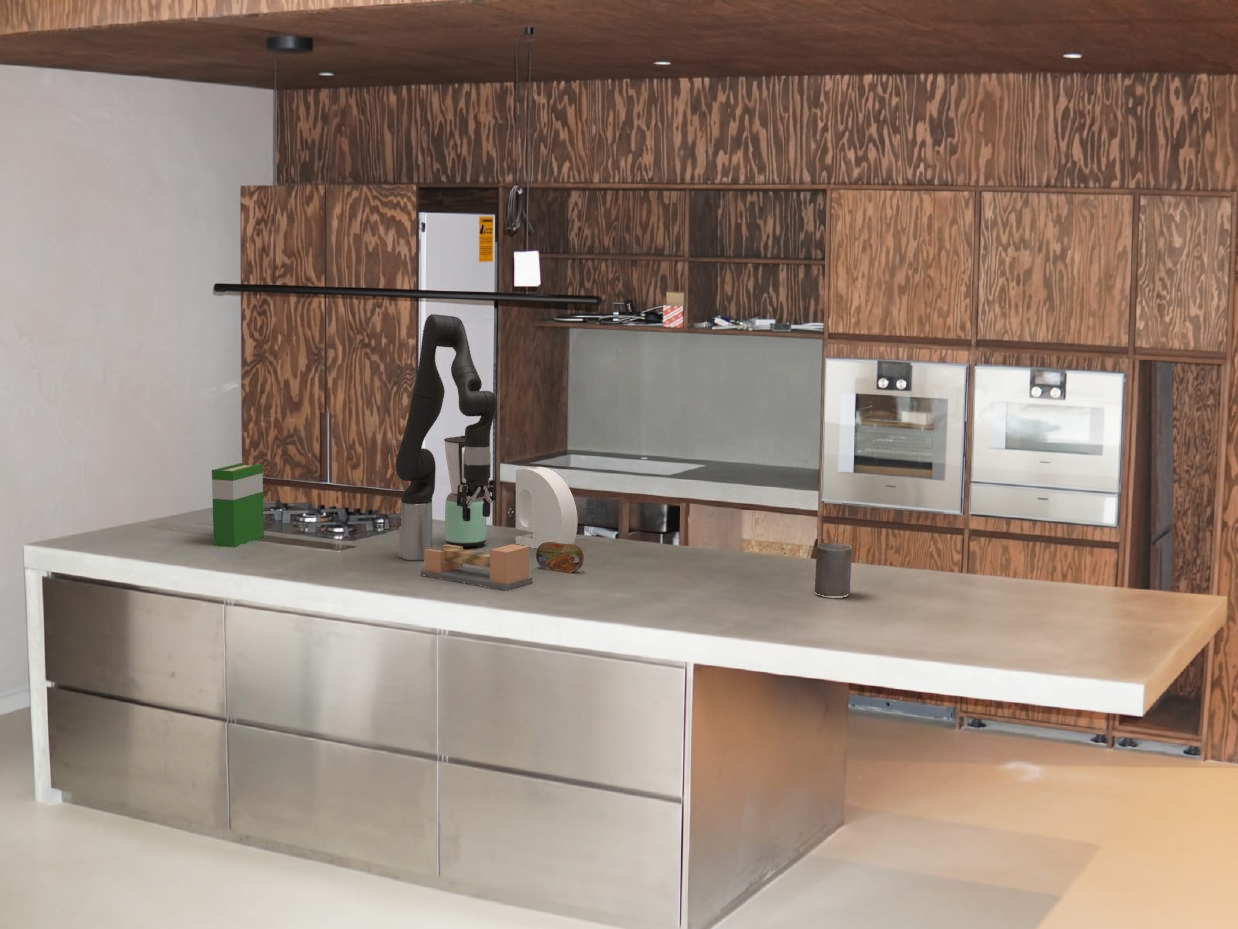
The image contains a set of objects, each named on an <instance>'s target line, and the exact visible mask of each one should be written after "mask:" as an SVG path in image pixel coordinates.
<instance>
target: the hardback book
mask: <svg viewBox="0 0 1238 929" xmlns="http://www.w3.org/2000/svg"><path fill="white" fill-rule="evenodd" d="M263 475H264V474H263V463H256V464H254V465H248V464H247V465H246V464H245V462H240V463H236V464H232V465H228V466H227V465H226V466H223V467H220V468H219V467H218V468H214V469H212V470H211V486H212V488H211V489H212V490H211V493H212V495H211V496H212V522H213V523H212V524H213V527H212V529H213V532H212V533H213V546H214V547H225V548H237V547H240V546H241V545H240V544H243V545H246V544H248V543H247V542H249V541H251V542H254V541H256V540H255V539H257V540H259V539H258V538H260V537H263V536H264V537H265V528H264V526H265V524H264V522H265V520H264V516H265V515H264V484H263V483H264V478H263V477H264V476H263ZM264 537H263V538H264ZM260 539H261V538H260ZM253 540H254V541H253ZM245 543H246V544H245ZM249 543H250V542H249ZM239 545H240V546H239Z"/></svg>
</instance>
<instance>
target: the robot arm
mask: <svg viewBox="0 0 1238 929" xmlns="http://www.w3.org/2000/svg"><path fill="white" fill-rule="evenodd" d="M438 347H440V348H441V347H442V348H452V349H453V350H454V352H455V355H454V358H453V360H452V363H451V367H450V373H451V378H452V379H453V381H454V384H455V386H456V389H457V394H458V409H459V411H460V413H461V414H462V415H464V416H465V417H480V418H479V420H478V421H477V422H475V423H472V424H469V425H466V427H465V428H464V436H465V449H464V478H465V479H466V484H465V485H458V490H457V506H461V507H462V518H463V520H464V521H470V519H471V508H470V506H471V504H472V502H474V501H475V499H476V498H479V497H480V498H481V499H482V501H483V509H482V515H483V516H484V517H486V518H489V517H491V510H492V509H491V508H492V507H491V504H492V503H493V502H495V501H496V500H497V487H496V486H497V484H496V483H497V482H496V480H495V479H491V466H492V464H491V459H492V458H491V446H490V445H491V430H492V425H493V422H494V421H493V420H494V418H495V414H496V412H497V406H498V402H497V401H498V400H497V396H496V394H494V392H492V391H491V390H481V389H482V386H483V385H482V384H483V383H482V379H481V377H480V375H479V373H478V371H477V368H476V366H475V364H474V361H473V359H472V354H471V348H470V344H469V340H468V336H467V331H466V328H465V325H464V322H463V321H462V319H460V318H459V317H457V316H454V315H453V316H452V315H445V314H435V313H434V314H433V313H432V314H430V315H428V316H427V318H426V319H425V321H424V325H423V330H422V337H421V346H420V355H419V362H418V366H417V367H418V368H417V372H416V377H415V382H414V385H413V389H412V395H411V400H410V405H409V410H408V416H407V419H406V424H405V428H404V432H403V435H402V440H401V443H400V444H399V448H398V450H397V451H398V452H397V454H396V459H395V471H396V475H397V477H398V478H399V479H400V480H401V481H405V482H410V484H409V485H408V487H407V488H406V489H404V490H403V491H402V492H401V498H400V499H401V525H400V526H399V527H398V552H399V553H398V554H399V558H401V559H403V560H406V561H424V550H425V549H433V496H434V493H435V489H436V488H435V487H436V472H437V471H436V459H435V456H434V454H433V453H432V452H431V451H430V450H429V449H428V448H424V447H423V443H424V440H425V439H426V437H427V435H428V433H429V431H430V430H431V429H432V427H433V426H434V425H435V422H436V421H437V419H438V418H439V416H440V414H441V412H442V408H443V403H444V398H445V393H446V391H445V386H444V382H443V380H442V378H441V375H440V373H439V370H438V367H437V363H436V351H437V348H438ZM468 495H469V496H470V497H468ZM461 498H462V502H461ZM467 501H468V503H467Z"/></svg>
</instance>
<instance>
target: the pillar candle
mask: <svg viewBox="0 0 1238 929" xmlns="http://www.w3.org/2000/svg"><path fill="white" fill-rule="evenodd" d="M852 551H853V547H852V545H849V544H846V543H840V542H835V541H833V542H822V543H818V544H817V545H816V555H815V560H816V561H815V578H814V580H815V581H814V583H815V584H814V593H815V592H816V593H817V594H820V595H824V596H844V595H847V594H849V593H850V594H851V579H852V578H851V576H852V575H851V574H852V555H853V554H852V553H853V552H852Z"/></svg>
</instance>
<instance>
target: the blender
mask: <svg viewBox="0 0 1238 929" xmlns="http://www.w3.org/2000/svg"><path fill="white" fill-rule="evenodd" d="M443 441H444V449H445V450H444V452H445V457H446V464H447V469H448V476H449V483H450V489H451V492H450V493H448V495H447V496H446V499H445V504H444V505H445V506H444V509H445V510H444V512H445V513H444V534H445V535H444V540H445V543H446V544H448V545H455V546H461V547H463V548H464V547H465V548H467V547H474V548H475V549H481V548H482V546H483V545H484V544H486V542H487V539H488V538H487V517H484V516H483V515H482V509H483V501H482V499H481V498H480V497H479V498H476V499H475V501H474V502H472V504H471V506H470V508H471V519H470V521H464V520H463V518H462V507H461V506H457V490H458V485H465V484H466V479H465V478H464V449H465V435H459V436H453V437H451V436H450V437H446V438H444V439H443ZM468 497H470V496H469V495H468ZM461 502H462V498H461ZM467 503H468V501H467Z"/></svg>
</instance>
